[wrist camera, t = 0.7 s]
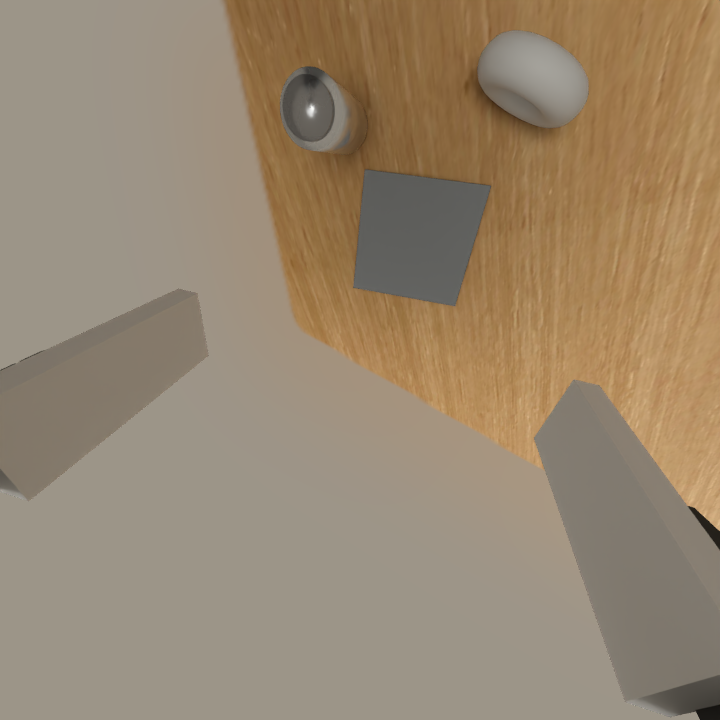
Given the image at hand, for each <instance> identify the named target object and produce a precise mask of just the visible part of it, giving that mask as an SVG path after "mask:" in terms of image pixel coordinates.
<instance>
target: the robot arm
mask: <svg viewBox="0 0 720 720" xmlns="http://www.w3.org/2000/svg"><path fill="white" fill-rule="evenodd" d="M206 357H208V350H207V344H206V338H205V333H204V327H203V322H202V316H201V310H200V305H199V300H198V294H197V293H195V292H191V291H186V290H182V289H177V290H175V291H172V292H170V293H168V294H166V295H164V296H162V297H159V298H157V299H155V300H153V301H151V302H149V303H147V304H144V305H142V306H140V307H138V308H136V309H133V310H131V311H129V312H127V313H125V314H123V315H120V316H118V317H116V318H114V319H112V320H110V321H108V322H105V323H103V324H101V325H99V326H96V327H94V328H92V329H90V330H88V331H86V332H83V333H81V334H79V335H77V336H75V337H73V338H71V339H68V340H66V341H64V342H62V343H60V344H58V345H56V346H53V347H51V348H49V349H47V350H44V351H41V352H39V353H36V354H34V355H32V356H30V357H28V358H25V359H23V360H21V361H20V362H18V363H16V364H12V365H10V366H8V367H6V368H4V369H2V370H1V371H0V491H1V492H2V493H5V494H8V495H12V496H14V497H17V498H21V499H23V500H26V501H29V500H31V499H32V498H33V497H34V496H36V495H37V494H38V493H39V492H41V491H42V490H43V489H44V488H46V487H47V486H48V485H49V484H51V483H52V482H53V481H54V480H55V479H57V478H58V477H59V476H60V475H62V474H63V473H64V472H65V471H67V470H68V469H69V468H70V467H72V466H73V465H74V464H75V463H77V462H78V461H79V460H80V459H81V458H83V457H84V456H85V455H86V454H88V453H89V452H90V451H91V450H93V449H94V448H95V447H96V446H97V445H99V444H100V443H101V442H102V441H104V440H105V439H106V438H107V437H109V436H110V435H111V434H112V433H114V432H115V431H116V430H117V429H118V428H120V427H121V426H122V425H124V424H125V423H126V422H127V421H128V420H130V419H131V418H132V417H133V416H134V415H135V414H137V413H138V412H139V411H141V410H142V409H143V408H144V407H146V406H147V405H148V404H149V403H151V402H152V401H153V400H154V399H156V398H157V397H158V396H159V395H160V394H162V393H163V392H164V391H165V390H167V389H168V388H169V387H170V386H172V385H173V384H174V383H175V382H177V381H178V380H179V379H180V378H181V377H183V376H184V375H185V374H186V373H188V372H189V371H190V370H191V369H193V368H194V367H195V366H196V365H197V364H199V363H200V362H201V361H203V360H204V359H205V358H206ZM534 440H535V443H536V446H537V449H538V452H539V454H540V457H541V460H542V463H543V466H544V469H545V472H546V475H547V477H548V480H549V483H550V486H551V489H552V492H553V494H554V498H555V500H556V503H557V506H558V509H559V512H560V515H561V518H562V520H563V524H564V527H565V529H566V532H567V535H568V538H569V541H570V544H571V547H572V550H573V552H574V555H575V558H576V561H577V564H578V567H579V570H580V573H581V576H582V579H583V581H584V584H585V587H586V590H587V593H588V596H589V599H590V602H591V604H592V608H593V610H594V613H595V616H596V619H597V622H598V625H599V628H600V631H601V633H602V636H603V639H604V642H605V645H606V648H607V651H608V654H609V657H610V660H611V662H612V665H613V668H614V671H615V674H616V677H617V679H618V683H619V686H620V688H621V691H622V694H623V697H624V700H625V702H626V703H629V704H632V705H635V706H639V707H641V708H644V709H647V710H650V711H653V712H656V713H659V714H662V715H665V716H668V717H672V716H677V715H682V714H686V713H691V712H695V711H696V712H697V714H698V717H699V719H700V720H720V531H719V530H718V529H717V528H715V527H714V526H713V525H712V524H711V523H710V522H709V521H708V520H707V519H706V518H705V517H704V516H702V515H701V514H700V513H699V512H698V511H697V510H696V509H695V508H693V507H690V506H687V505H686V503H685V502H684V501H683V499H682V498H681V497H680V495H679V494H678V492H677V491H676V490H675V488H674V487H673V486H672V484H671V483H670V482H669V480H668V479H667V477H666V476H665V475H664V473H663V472H662V471H661V469H660V468H659V466H658V465H657V464H656V462H655V461H654V460H653V458H652V457H651V456H650V454H649V453H648V451H647V450H646V449H645V447H644V446H643V445H642V443H641V442H640V440H639V439H638V438H637V436H636V435H635V434H634V432H633V431H632V430H631V428H630V427H629V425H628V424H627V423H626V421H625V420H624V419H623V417H622V416H621V414H620V413H619V412H618V410H617V409H616V408H615V406H614V405H613V404H612V402H611V401H610V399H609V398H608V397H607V395H606V394H605V393H604V391H603V390H602V388H601V387H600V386H599V385H595V384H591V383H587V382H582V381H578V380H573V381H572V383H571V384H570V386H569V387H568V389H567V390H566V392H565V393H564V395H563V396H562V398H561V399H560V401H559V402H558V403H557V405H556V406H555V408H554V409H553V411H552V412H551V414H550V415H549V417H548V418H547V420H546V421H545V423H544V424H543V426H542V427H541V428H540V430H539V431H538V433H537V434H536V436H535V437H534Z"/></svg>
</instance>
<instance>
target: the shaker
mask: <svg viewBox="0 0 720 720" xmlns="http://www.w3.org/2000/svg"><path fill="white" fill-rule="evenodd" d="M280 112H281V118H282V122H283V125H284V128H285V130H286V132H287V133H288V135H289V137H290V138H291V139H292V140H293V141H294V142H295V143H296V144H297V145H298V146H300V147H302V148H304V149H307V150H313V151H320V152H327V153H334V154H341V155H348V154H352V153H354V152H355V151H357V150H358V149H359V148H360V147H361V145H362V144H363V142H364V140H365V138H366V134H367V129H368V120H367V115H366V112H365V109H364V107H363V105H362V104H361V103H360V101H359V100H358V99H356V98H355V97H354V96H353V95H352V94H350V93H349V92H348V91H347V90H346V89H344V88H343V87H342V86H341V85H340V84H338V83H337V82H336V81H335V80H334V79H332V78H331V77H330V76H329V75H327V74H326V73H325V72H324V71H322V70H320V69H318V68H316V67H311V66H310V67H302V68H300V69H298V70H296V71H294V72H293V73H292V74H291V75H290V76H289V78H288V79H287V81H286V82H285V85H284V87H283V90H282V93H281V99H280Z"/></svg>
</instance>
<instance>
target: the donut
mask: <svg viewBox="0 0 720 720" xmlns="http://www.w3.org/2000/svg"><path fill="white" fill-rule="evenodd" d="M477 70H478V81H479V84H480V86H481V88H482V89H483V91H484V93H485V94H486V95H487V96H488V97H489V98H490V99H491V100H492V101H493V102H495V103H496V104H497V105H498V106H500V107H501V108H503V109H504V110H505V111H507V112H508V113H510V114H512V115H514V116H515V117H517V118H519V119H521V120H523V121H525V122H527V123H530V124H533V125H535V126H538V127H543V128H557V127H561V126H564V125H566V124H567V123H569V122H570V121H571V120H573V119H574V118H575V117H576V116H577V115H578V113H579V112H580V111H581V110H582V109H583V107H584V105H585V103H586V101H587V97H588V77H587V75H586V73H585V71H584V69H583V68H582V66H581V64H580V63H579V62H578V61H577V60H576V58H575V57H574V56H573V55H572V54H571V53H569V52H568V51H567V50H566V49H564V48H563V47H562V46H560V45H559V44H557V43H555V42H553V41H552V40H550V39H548V38H546V37H544V36H541V35H538V34H535V33H532V32H527V31H520V30H513V31H508V32H503V33H501V34H499V35H497V36H496V37H495V38H494V39H493V40H492V41H491V42H490V43H489V44H488V45H487V46H486V47H485V49H484V50H483V52H482V53H481V56H480V59H479V62H478V69H477Z"/></svg>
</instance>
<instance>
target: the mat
mask: <svg viewBox="0 0 720 720" xmlns="http://www.w3.org/2000/svg"><path fill="white" fill-rule="evenodd" d="M490 188H491V186H489V185H481V184H473V183H465V182H458V181H450V180H442V179H435V178H427V177H419V176H412V175H404V174H396V173H389V172H381V171H373V170H365V173H364V184H363V194H362V205H361V215H360V225H359V236H358V246H357V257H356V267H355V278H354V288H358V289H364V290H369V291H375V292H380V293H386V294H391V295H397V296H402V297H408V298H413V299H419V300H424V301H430V302H435V303H441V304H446V305H452V306H455V304H456V301H457V298H458V294H459V291H460V288H461V284H462V281H463V278H464V274H465V271H466V268H467V264H468V261H469V258H470V254H471V251H472V248H473V244H474V241H475V238H476V234H477V231H478V228H479V225H480V221H481V218H482V215H483V211H484V208H485V205H486V201H487V198H488V195H489V191H490Z"/></svg>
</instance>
